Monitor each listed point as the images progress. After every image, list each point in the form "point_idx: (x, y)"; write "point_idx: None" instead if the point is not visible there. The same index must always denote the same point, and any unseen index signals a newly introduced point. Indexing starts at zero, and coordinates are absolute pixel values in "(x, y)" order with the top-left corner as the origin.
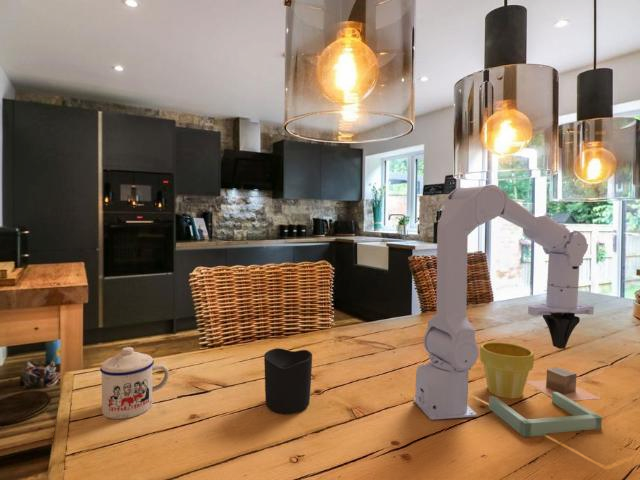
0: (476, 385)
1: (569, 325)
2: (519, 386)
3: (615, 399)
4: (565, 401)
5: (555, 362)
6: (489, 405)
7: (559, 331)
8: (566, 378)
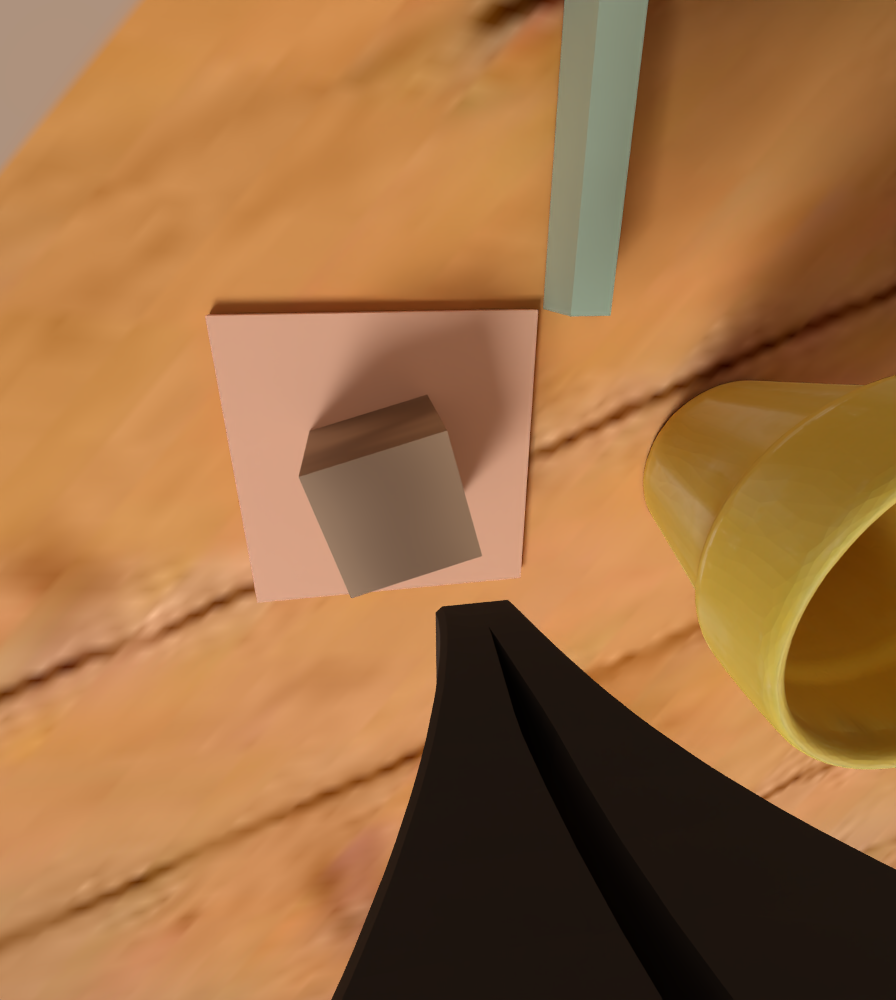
0: None
1: (593, 901)
2: (793, 385)
3: (68, 317)
4: (623, 179)
5: (116, 816)
6: None
7: (696, 759)
8: (422, 431)
